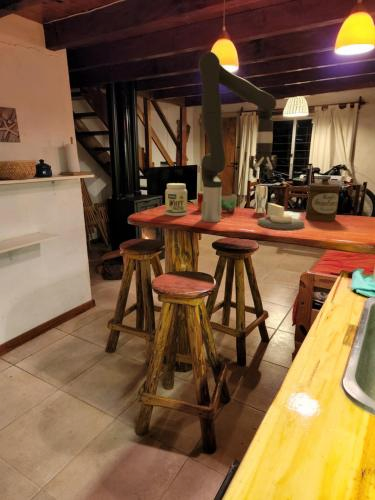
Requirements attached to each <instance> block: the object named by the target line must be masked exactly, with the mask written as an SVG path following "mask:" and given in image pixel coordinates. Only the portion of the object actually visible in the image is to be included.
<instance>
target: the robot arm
mask: <svg viewBox="0 0 375 500" xmlns="http://www.w3.org/2000/svg"><path fill="white" fill-rule="evenodd" d="M198 71H199V73H200V77H201V86H202V94H201V121H202V127H203V130H204V133H205V135H206V137H207V140H208V142H209V153H206V154H205V155H204V156H203V157H202V160H201V180H202V184H203V187H202V188H203V189H202V191H203V201H202V211H201V215H200V216H201V218H200V219H201V220H202V221H203V222H204V223H205V222H208V223H214V222H215V223H216V222H217V223H218V222H221V217H222V215H221V214H222V203H221V196H222V189H223V185H222V184H223V183H222V180H221V179H220V178H219V176H218V174H219V173H222V172H223V171H224V170H225V167H226V164H227V161H226V154H225V153H226V152H225V148H224V147H225V146H224V135H223V113H222V111H223V110H222V101H221V94H220V93H221V92H220V86H219V85H221V86H223V87H225V88H226V89H228V90H230V91H231V92H233V94H235V95H236V96H237V97H239V98H241V99H242V100H244V101H246V102H247V103H248V104H253V105H255V106H256V107H257V135H256V138H255V142H256V143H255V155H249V156H248V169H251V170H252V172H251V173H252V174H251V175H252V177H253V179H257V177H258V170H257V169H258V167H260V165H265V166H266V167H267V174H266V175H267V176H266V177H267V178H268V179H269V178H271V177H272V176H273V175H272V174H273V170H275V169H276V168H277V161H278V156H277V155H272V152H273V151H272V150H273V137H274V135H273V134H274V133H273V131H274V121H273V119H272V118H273V111H274V110H275V109H276V106H277V99H276V98H275V97H274V96H273V95H272V94H270V93H268V92H266V91H265V90H261V89H260V88H258V87H257V86H255V85H254V84H253V83H251V82H250V81H248V80H247V79H245V78H242V77H240V76H238V75H236V74H234V73H232V72H231V71H229V70H227V69H226V68H225V67H223V65H221V63H220V58H219V56H218V55H217V54H216V53H214V52H213V51H206V52H204V53H203V54H202V55H201V57H200V58H199V61H198Z"/></svg>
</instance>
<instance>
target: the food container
mask: <svg viewBox="0 0 375 500" xmlns="http://www.w3.org/2000/svg"><path fill="white" fill-rule="evenodd" d="M237 199H238V197H237V195H236V194H235V193H231V194H230V195H221V214H234V213H235V209H236V201H237Z"/></svg>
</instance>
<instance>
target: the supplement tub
mask: <svg viewBox="0 0 375 500" xmlns="http://www.w3.org/2000/svg"><path fill="white" fill-rule="evenodd" d="M186 187H187V186H186V183H180V182H177V183H175V182H172V183H171V182H169V183H167V184H166V189H165V192H164V195H165V196H164V198H165V207H164V208H165V214H166V215H167V216H171V217H183V216H185V215H187V214H188V190H187V188H186Z"/></svg>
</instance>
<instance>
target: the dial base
mask: <svg viewBox="0 0 375 500" xmlns="http://www.w3.org/2000/svg"><path fill="white" fill-rule="evenodd" d="M270 218H271V216H264V217H259V218H258V219H257V225H258V226H261V227H263V228H267V229H271V230H273V229H274V230H282V231H284V230H285V231H288V230H291V231H294V230H300V229H303V228H304V227H305V222H304V221H303V220H301V219H297V218H293V217H292V221H291V222H290V223H277V222H272V221H270Z"/></svg>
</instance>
